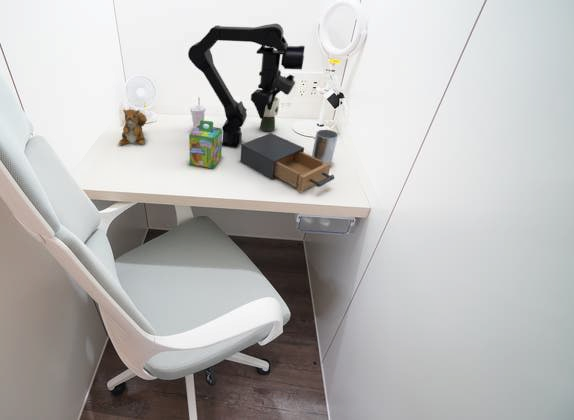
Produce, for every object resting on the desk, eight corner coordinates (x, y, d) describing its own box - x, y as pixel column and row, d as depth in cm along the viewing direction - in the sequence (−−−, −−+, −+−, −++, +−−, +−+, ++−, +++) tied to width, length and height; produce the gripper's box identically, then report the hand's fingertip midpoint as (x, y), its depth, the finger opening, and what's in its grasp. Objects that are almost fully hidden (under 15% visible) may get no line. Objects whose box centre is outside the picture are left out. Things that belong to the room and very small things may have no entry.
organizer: (301, 165, 112) (304, 147, 107) (271, 179, 105) (274, 161, 101) (268, 150, 122) (270, 132, 118) (240, 161, 115) (241, 144, 111)
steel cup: (311, 167, 111) (317, 137, 104) (309, 157, 116) (315, 129, 109) (331, 168, 109) (339, 138, 103) (329, 159, 115) (336, 130, 108)
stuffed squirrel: (118, 146, 128) (112, 114, 120) (128, 131, 139) (123, 101, 131) (142, 147, 127) (138, 114, 119) (151, 132, 138) (147, 101, 130)
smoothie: (205, 133, 135) (204, 100, 126) (190, 133, 136) (188, 100, 127) (206, 127, 140) (206, 95, 131) (192, 127, 141) (190, 94, 132)
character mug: (276, 135, 132) (280, 103, 124) (258, 134, 133) (261, 103, 125) (275, 124, 140) (279, 94, 132) (258, 124, 141) (261, 94, 133)
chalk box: (189, 165, 114) (187, 125, 105) (198, 153, 121) (197, 115, 112) (213, 169, 111) (213, 129, 102) (222, 157, 118) (222, 118, 109)
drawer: (338, 182, 101) (342, 168, 98) (311, 198, 95) (314, 183, 92) (293, 160, 113) (295, 147, 110) (266, 172, 107) (267, 159, 104)
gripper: (287, 78, 97) (280, 127, 107) (301, 63, 110) (294, 108, 120) (251, 74, 101) (248, 122, 111) (269, 60, 114) (265, 104, 124)
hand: (265, 113), depth 116 cm, fingers open, 9 cm apart
